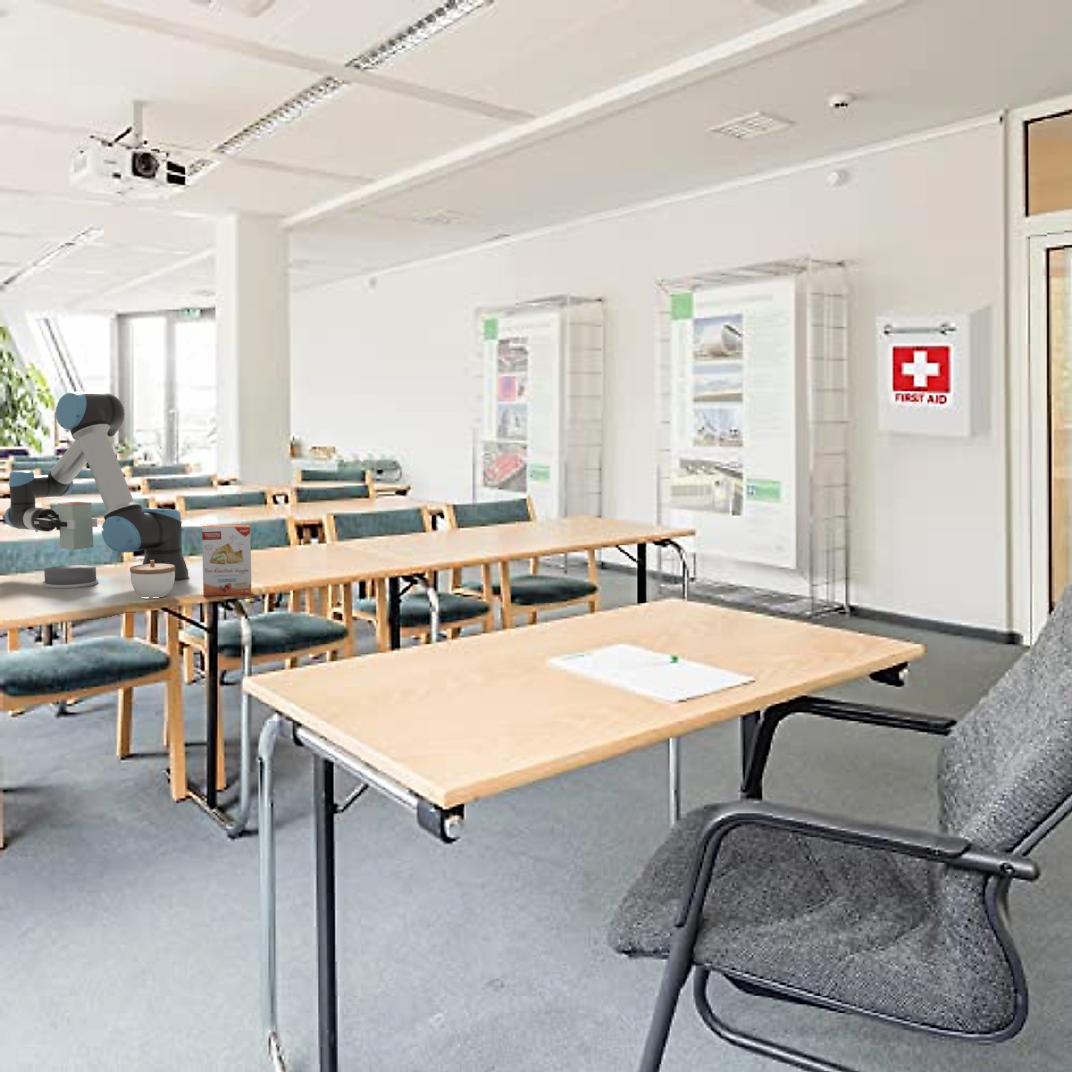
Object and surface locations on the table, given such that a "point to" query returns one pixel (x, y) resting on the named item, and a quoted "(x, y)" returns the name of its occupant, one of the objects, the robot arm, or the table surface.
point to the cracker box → (226, 560)
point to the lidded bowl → (152, 579)
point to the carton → (84, 529)
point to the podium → (70, 576)
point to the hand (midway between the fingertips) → (85, 523)
